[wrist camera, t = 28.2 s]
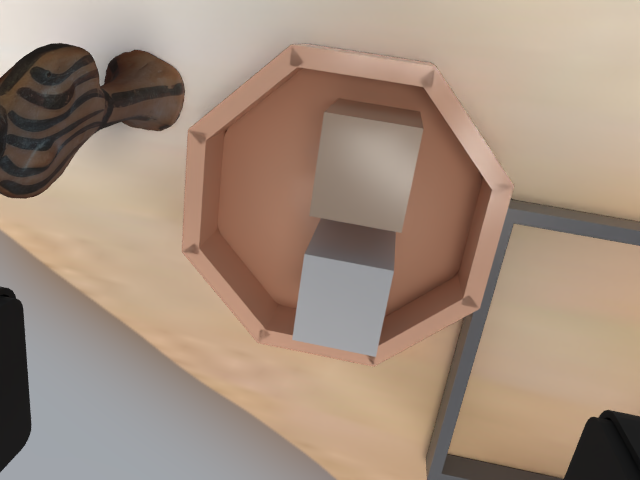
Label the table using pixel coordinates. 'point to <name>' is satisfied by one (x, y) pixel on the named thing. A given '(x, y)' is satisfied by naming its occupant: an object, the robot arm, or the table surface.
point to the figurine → (75, 109)
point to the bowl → (297, 187)
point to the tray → (448, 470)
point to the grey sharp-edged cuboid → (345, 287)
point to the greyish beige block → (366, 164)
